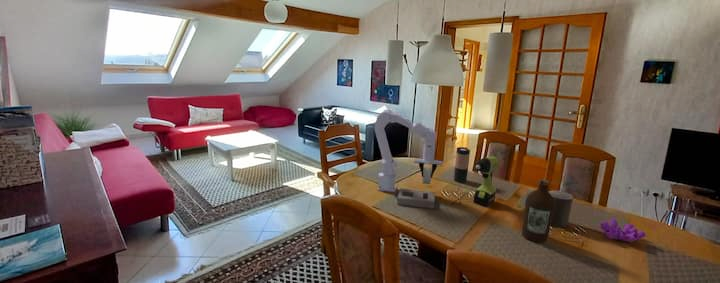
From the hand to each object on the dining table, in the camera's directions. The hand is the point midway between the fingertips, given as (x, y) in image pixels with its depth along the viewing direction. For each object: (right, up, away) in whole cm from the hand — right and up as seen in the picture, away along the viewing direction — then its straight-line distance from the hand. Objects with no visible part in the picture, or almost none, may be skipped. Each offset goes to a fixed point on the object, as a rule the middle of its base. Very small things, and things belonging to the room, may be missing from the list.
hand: (426, 177), depth 170 cm
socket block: (-7, -12, -7) cm, 15 cm away
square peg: (0, -3, +1) cm, 3 cm away
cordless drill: (+25, -13, -9) cm, 30 cm away
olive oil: (+37, -21, -37) cm, 56 cm away
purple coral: (+73, -22, -37) cm, 85 cm away
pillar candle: (+53, -18, -25) cm, 62 cm away
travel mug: (+25, -5, +22) cm, 33 cm away
